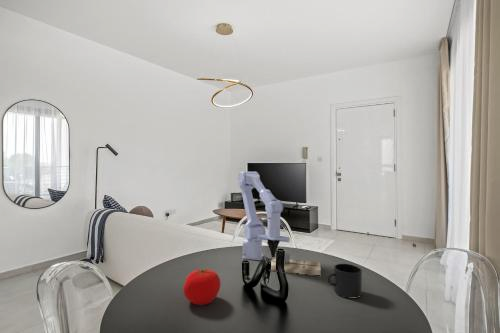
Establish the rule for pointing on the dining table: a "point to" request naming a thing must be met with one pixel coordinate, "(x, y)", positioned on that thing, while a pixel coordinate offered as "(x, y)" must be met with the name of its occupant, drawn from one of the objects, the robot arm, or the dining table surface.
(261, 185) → the robot arm
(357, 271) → the mug
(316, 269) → the board
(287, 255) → the fader tab
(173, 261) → the dining table surface
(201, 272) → the tomato
